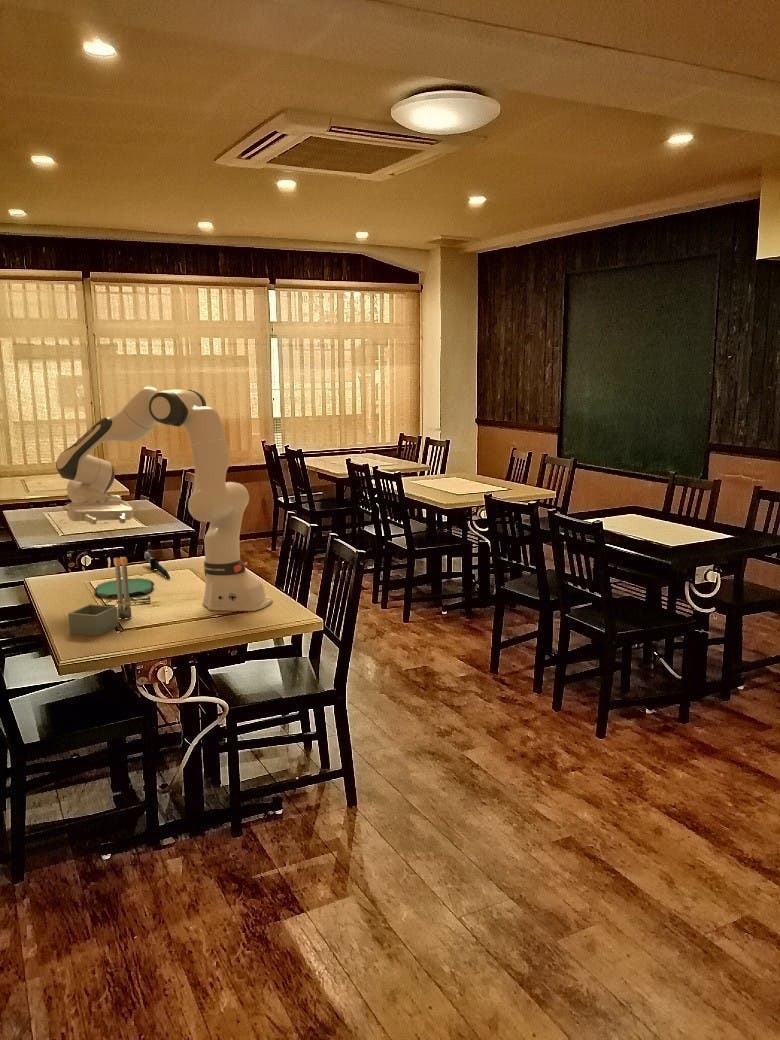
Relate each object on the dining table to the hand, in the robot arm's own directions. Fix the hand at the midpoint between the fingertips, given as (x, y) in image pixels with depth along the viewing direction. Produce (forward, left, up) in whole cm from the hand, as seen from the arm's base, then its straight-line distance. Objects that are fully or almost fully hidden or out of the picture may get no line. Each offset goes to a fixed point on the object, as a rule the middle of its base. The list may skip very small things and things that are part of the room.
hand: (109, 521), depth 253 cm
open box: (-8, +21, -28) cm, 36 cm away
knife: (+13, -44, -28) cm, 54 cm away
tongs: (-10, +9, -28) cm, 31 cm away
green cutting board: (+6, -13, -29) cm, 32 cm away
